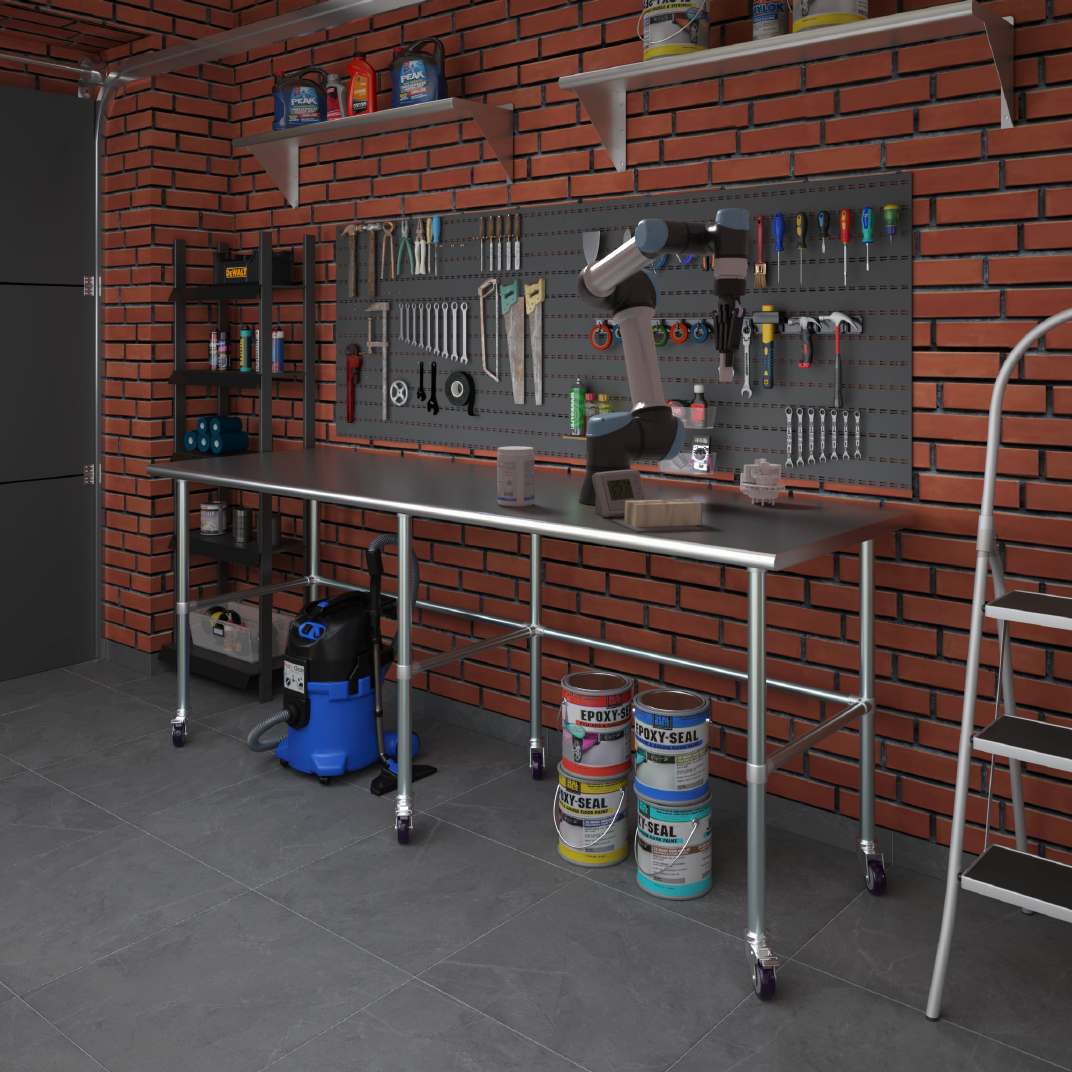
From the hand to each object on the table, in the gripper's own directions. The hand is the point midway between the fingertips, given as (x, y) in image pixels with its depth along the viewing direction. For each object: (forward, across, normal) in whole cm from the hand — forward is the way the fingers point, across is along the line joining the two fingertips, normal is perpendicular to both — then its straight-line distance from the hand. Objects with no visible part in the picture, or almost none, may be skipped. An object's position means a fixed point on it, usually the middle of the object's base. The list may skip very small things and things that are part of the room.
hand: (725, 381), depth 245 cm
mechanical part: (+33, +20, -22) cm, 44 cm away
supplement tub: (+33, +30, +43) cm, 62 cm away
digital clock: (+33, +9, +22) cm, 41 cm away
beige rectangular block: (+30, -9, +10) cm, 33 cm away
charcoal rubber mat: (+32, -9, +20) cm, 39 cm away
